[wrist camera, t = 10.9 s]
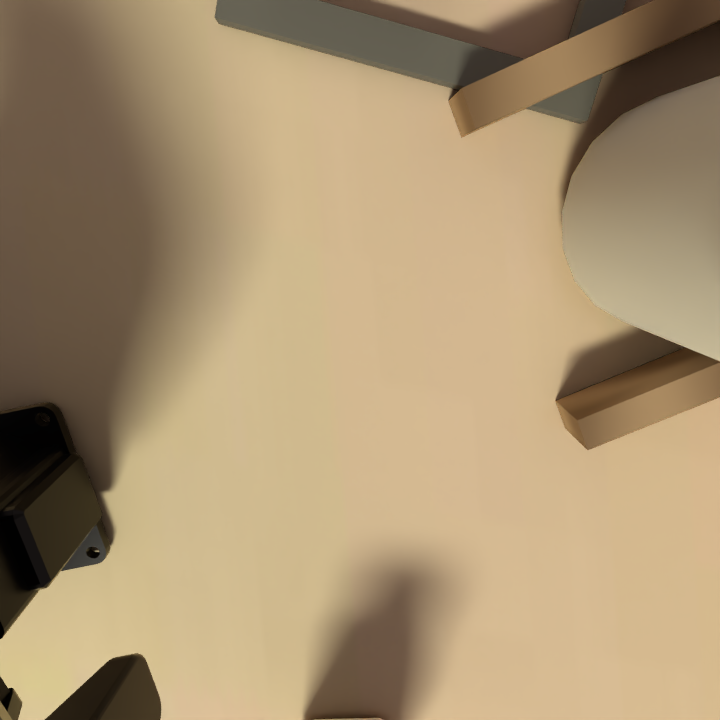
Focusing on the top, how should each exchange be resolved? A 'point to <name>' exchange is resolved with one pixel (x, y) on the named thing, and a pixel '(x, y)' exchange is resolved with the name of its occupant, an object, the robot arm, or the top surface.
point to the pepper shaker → (353, 719)
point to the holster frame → (407, 44)
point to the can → (653, 218)
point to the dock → (547, 78)
